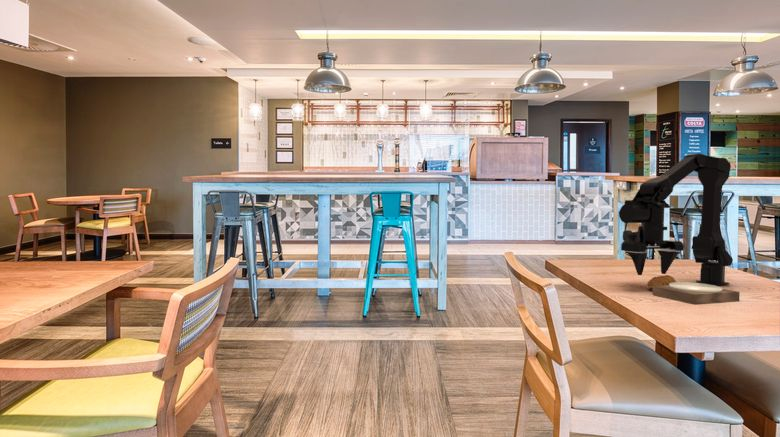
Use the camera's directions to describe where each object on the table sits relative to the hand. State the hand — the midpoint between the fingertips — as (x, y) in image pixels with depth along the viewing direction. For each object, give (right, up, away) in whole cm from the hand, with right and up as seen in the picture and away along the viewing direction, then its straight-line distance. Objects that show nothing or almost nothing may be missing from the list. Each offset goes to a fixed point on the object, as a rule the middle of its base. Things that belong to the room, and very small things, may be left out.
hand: (651, 274), depth 143 cm
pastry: (0, -5, 0) cm, 5 cm away
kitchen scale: (+5, -5, -12) cm, 14 cm away
